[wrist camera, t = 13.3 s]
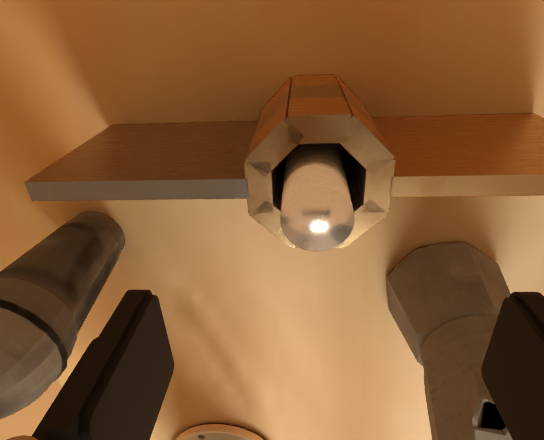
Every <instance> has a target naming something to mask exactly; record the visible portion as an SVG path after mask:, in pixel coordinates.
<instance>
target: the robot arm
mask: <svg viewBox="0 0 544 440" xmlns="http://www.w3.org/2000/svg"><path fill="white" fill-rule="evenodd" d="M173 369H174V361H173V356H172V352H171V348H170V344H169V340H168V336H167V332H166V328H165V324H164V320H163V316H162V312H161V308H160V304H159V299H158V297H157V296H156V295H152V292H151V291H150V290H128V291H127V292H126V293H125V295H124V297H123V298H122V300H121V301H120V303H119V305H118V306H117V308H116V310H115V311H114V313H113V314H112V316H111V318H110V319H109V321H108V322H107V324H106V326H105V327H104V329H103V331H102V332H101V334H100V335H99V337H97V338H96V339H94V340H93V341H92V342H91V343H90V345H89V346H88V348H87V349H86V351H85V353H84V354H83V356H82V357H81V359H80V360H79V362H78V364H77V365H76V367H75V368H74V370H73V372H72V373H71V375H70V376H69V378H68V379H67V381H66V383H65V384H64V386H63V387H62V389H61V391H60V392H59V394H58V395H57V397H56V399H55V400H54V402H53V403H52V405H51V406H50V408H49V410H48V411H47V413H46V414H45V416H44V417H43V419H42V421H41V422H40V424H39V425H38V427H37V429H36V430H35V432H34V433H33V435H32V436H25V435H22V436H17V437H12V438H10V439H7V440H150V437H151V434H152V431H153V428H154V425H155V423H156V420H157V417H158V414H159V411H160V408H161V405H162V403H163V400H164V397H165V394H166V391H167V388H168V385H169V383H170V380H171V377H172V374H173ZM481 374H482V379H483V381H484V383H485V385H486V387H487V389H488V391H489V393H490V395H491V397H492V399H493V401H494V403H495V405H496V407H497V409H498V411H499V413H500V415H501V417H502V419H503V421H504V423H505V425H506V427H507V429H508V431H509V433H510V435H511V437H512V439H513V440H544V296H543V295H542V294H541V293H538V292H513V293H512V294H510V296H509V298H505V299H504V300H503V302H502V306H501V309H500V312H499V315H498V318H497V321H496V324H495V327H494V330H493V333H492V336H491V339H490V342H489V345H488V349H487V352H486V355H485V358H484V361H483V364H482V368H481ZM176 440H264V439H262V438H261V437H260V436H258V435H256V434H255V433H253V432H251V431H248V430H246V429H243V428H240V427H236V426H231V425H224V424H206V425H200V426H195V427H192V428H190V429H187V430H185V431H184V432H182V433H181V434H180V435H179V436H178V437H177V438H176Z"/></svg>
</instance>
